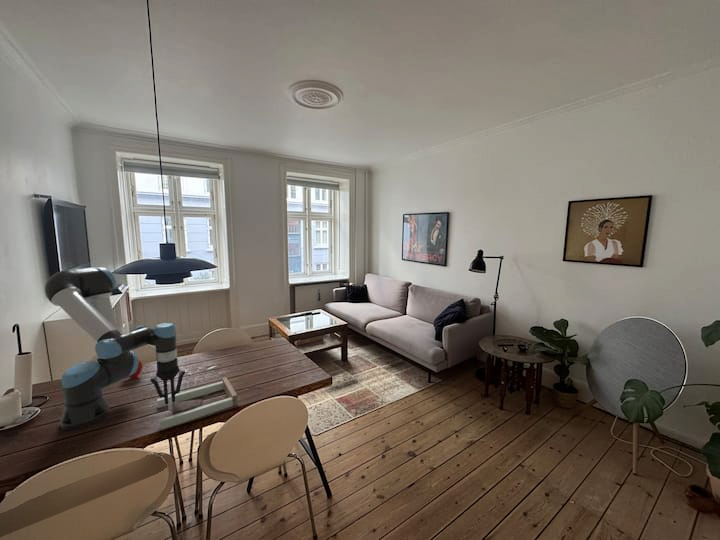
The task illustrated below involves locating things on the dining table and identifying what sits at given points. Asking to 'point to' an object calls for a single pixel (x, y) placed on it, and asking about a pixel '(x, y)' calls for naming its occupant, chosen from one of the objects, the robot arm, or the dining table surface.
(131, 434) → the dining table surface
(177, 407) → the stone
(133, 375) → the apple
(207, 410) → the grey u-shaped frame
